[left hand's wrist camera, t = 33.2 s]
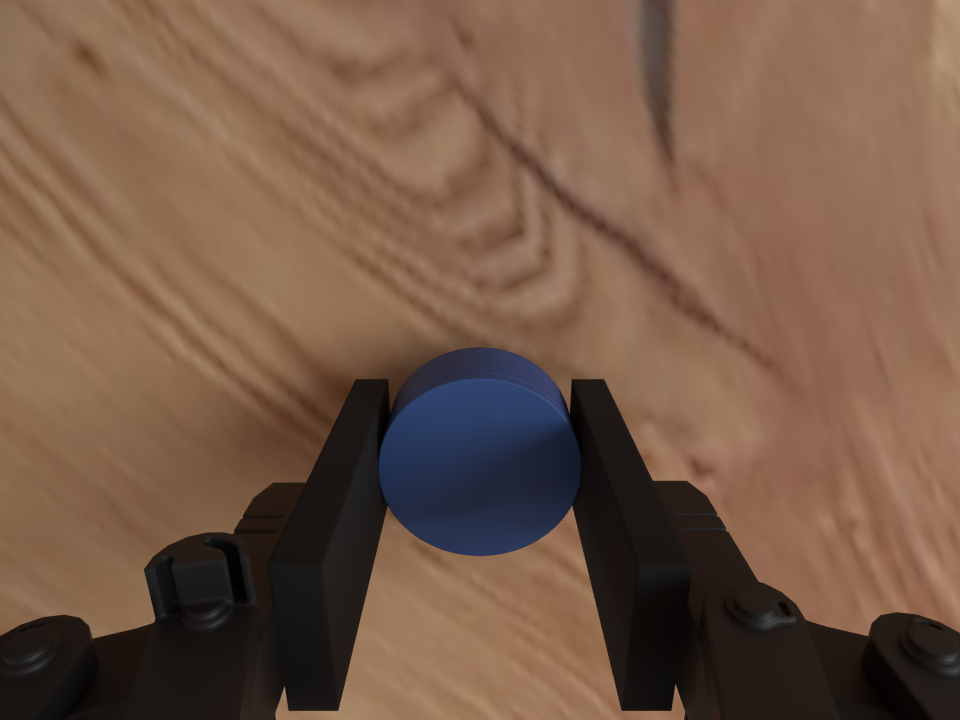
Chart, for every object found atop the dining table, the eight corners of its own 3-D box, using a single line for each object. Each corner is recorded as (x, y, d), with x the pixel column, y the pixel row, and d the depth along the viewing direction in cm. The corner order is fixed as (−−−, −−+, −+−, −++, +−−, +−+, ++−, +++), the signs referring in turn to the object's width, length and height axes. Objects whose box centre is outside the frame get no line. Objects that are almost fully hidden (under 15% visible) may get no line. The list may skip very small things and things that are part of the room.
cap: (533, 318, 14) (540, 347, 12) (594, 474, 15) (609, 520, 14) (358, 385, 14) (342, 421, 13) (433, 529, 16) (427, 580, 14)
